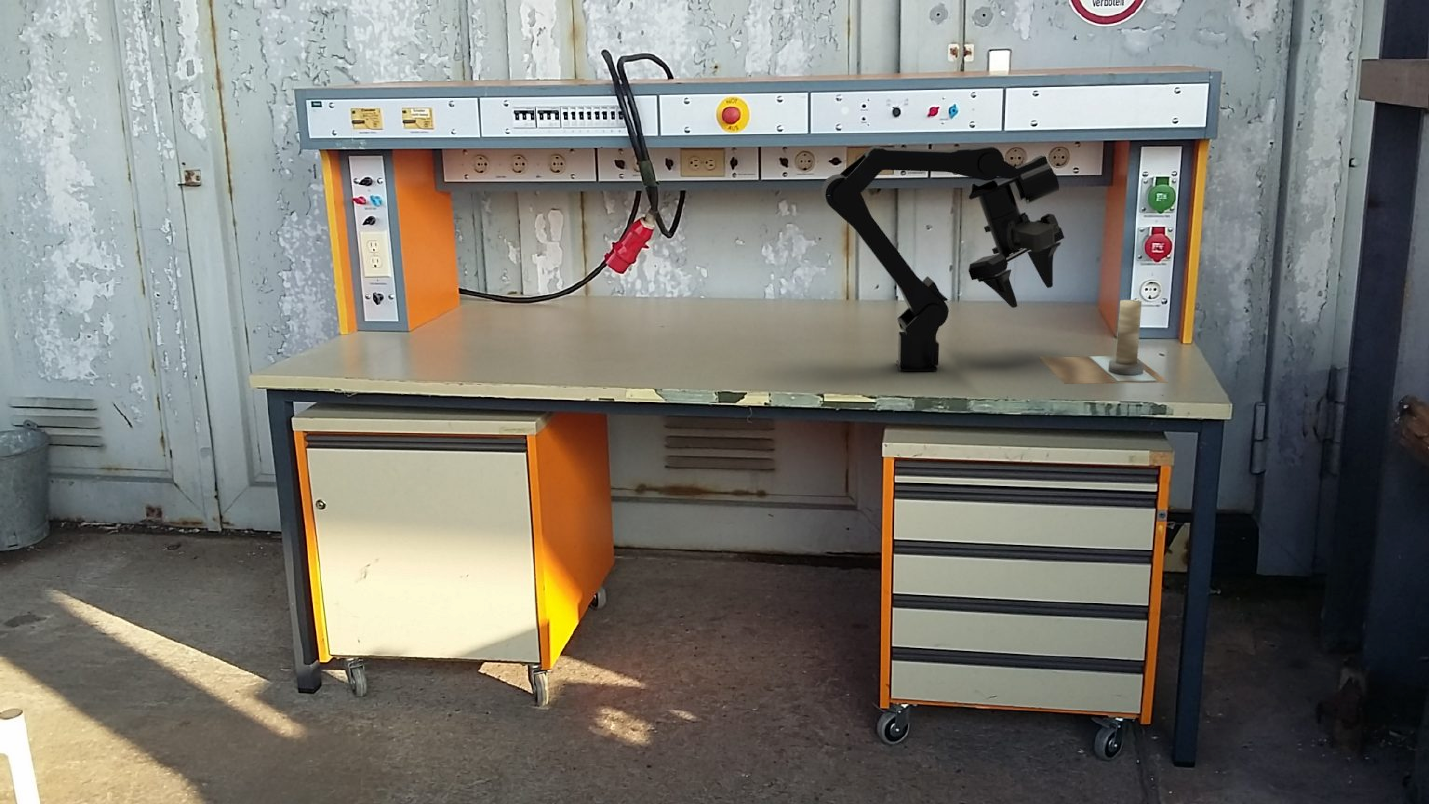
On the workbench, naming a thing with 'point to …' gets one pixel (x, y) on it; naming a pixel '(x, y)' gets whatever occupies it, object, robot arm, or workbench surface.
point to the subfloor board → (1095, 371)
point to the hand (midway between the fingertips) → (1032, 297)
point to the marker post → (1128, 340)
